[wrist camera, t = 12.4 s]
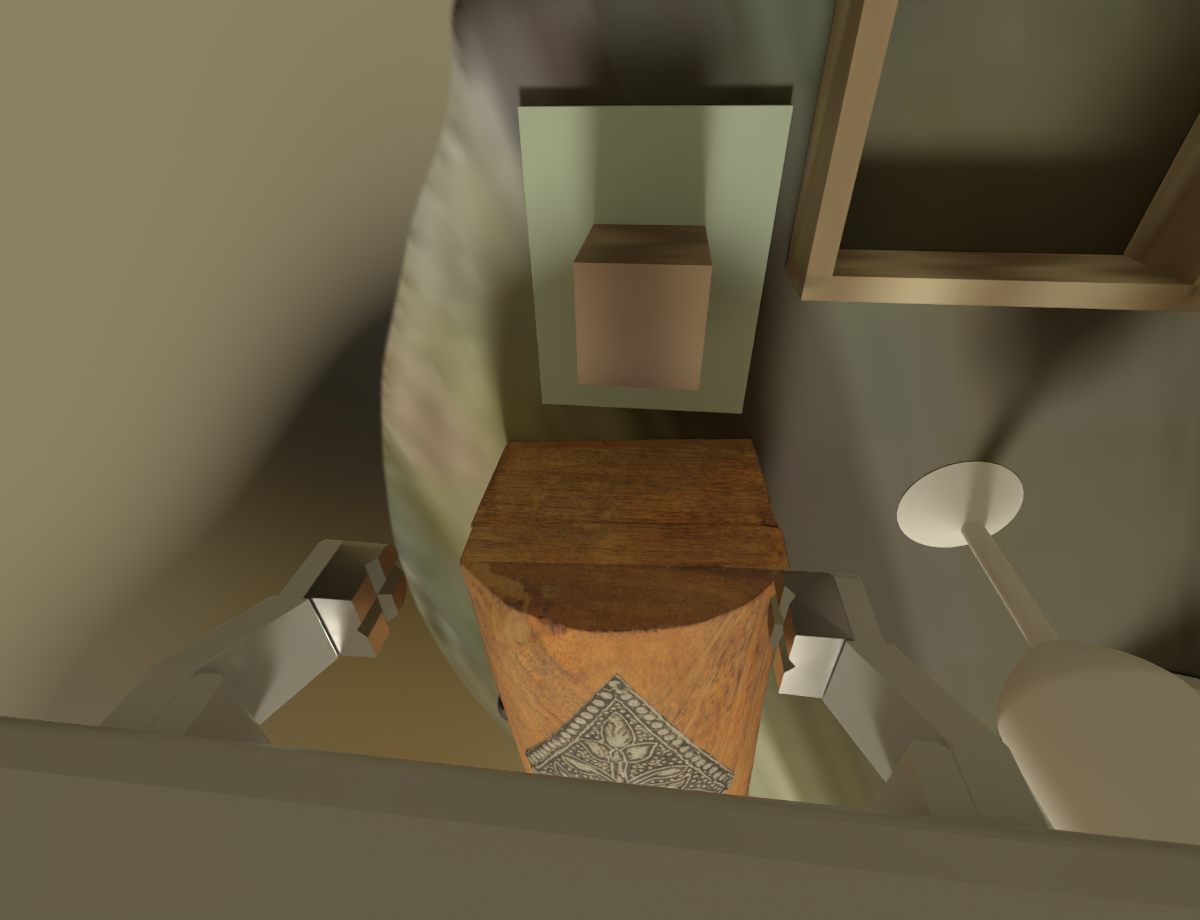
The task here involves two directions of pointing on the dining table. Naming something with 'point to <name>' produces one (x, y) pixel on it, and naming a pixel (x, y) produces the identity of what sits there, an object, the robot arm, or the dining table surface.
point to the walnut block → (642, 305)
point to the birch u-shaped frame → (826, 273)
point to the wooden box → (629, 606)
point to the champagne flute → (1071, 686)
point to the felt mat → (653, 197)
